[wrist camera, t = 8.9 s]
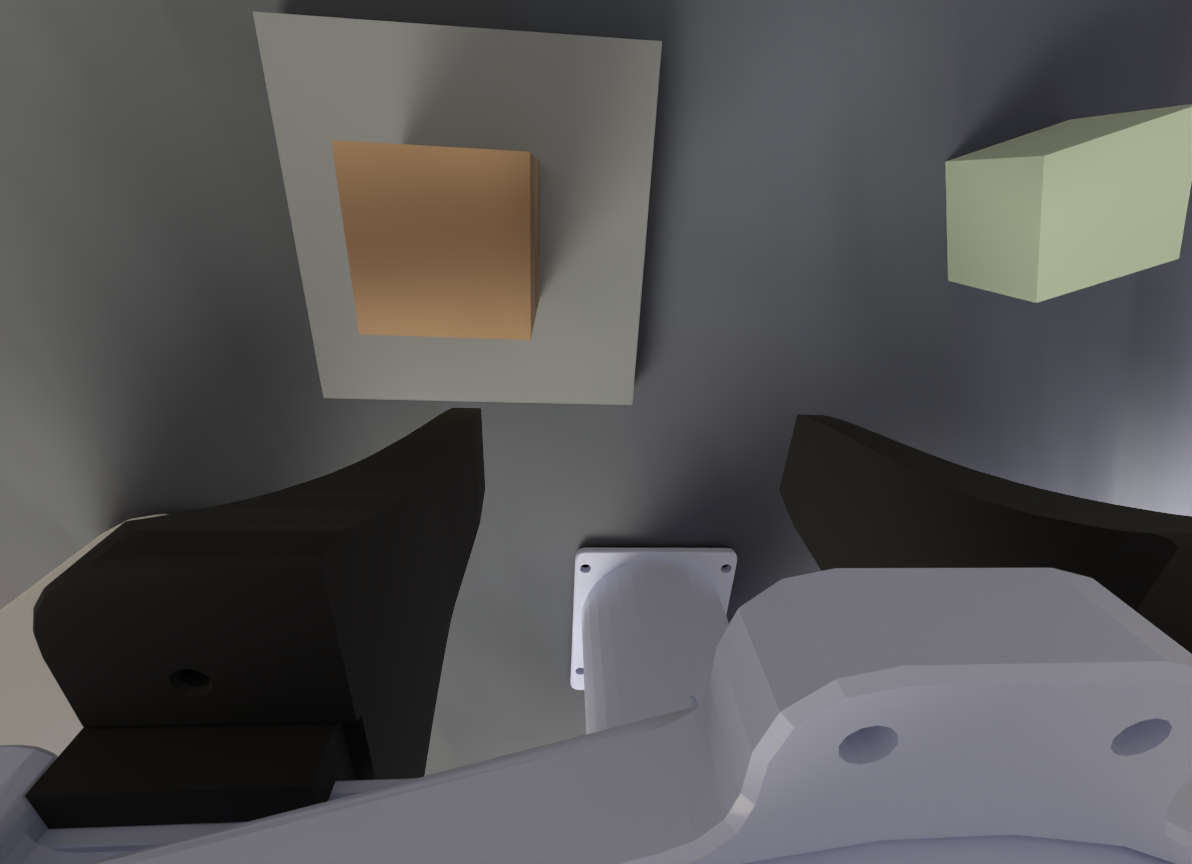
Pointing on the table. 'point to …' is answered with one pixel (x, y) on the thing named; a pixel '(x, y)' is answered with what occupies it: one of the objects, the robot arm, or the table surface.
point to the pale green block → (1070, 204)
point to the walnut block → (441, 239)
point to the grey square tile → (482, 121)
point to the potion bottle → (34, 674)
